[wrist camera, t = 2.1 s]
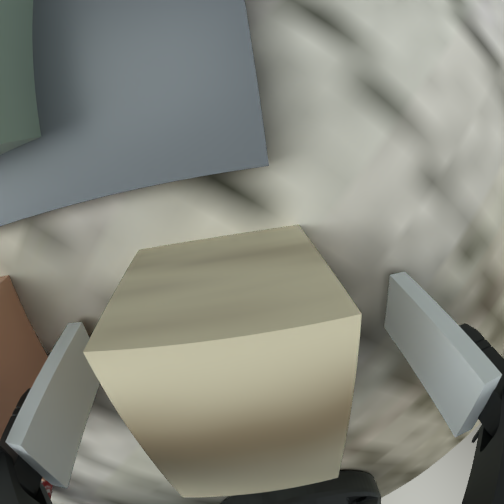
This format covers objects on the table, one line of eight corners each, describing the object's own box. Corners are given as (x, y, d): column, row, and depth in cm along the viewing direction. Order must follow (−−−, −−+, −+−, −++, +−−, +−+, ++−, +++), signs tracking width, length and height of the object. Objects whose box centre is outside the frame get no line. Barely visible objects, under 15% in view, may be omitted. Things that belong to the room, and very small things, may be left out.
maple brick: (306, 376, 15) (338, 477, 9) (188, 393, 15) (182, 497, 9) (297, 223, 12) (361, 313, 6) (139, 248, 11) (82, 351, 6)
